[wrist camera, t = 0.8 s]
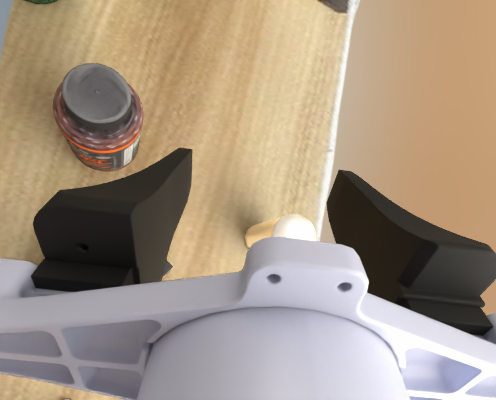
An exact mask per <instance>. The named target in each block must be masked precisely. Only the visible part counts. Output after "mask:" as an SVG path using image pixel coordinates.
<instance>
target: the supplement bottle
mask: <svg viewBox="0 0 496 400" xmlns="http://www.w3.org/2000/svg"><path fill="white" fill-rule="evenodd" d="M53 111H54V116H55V119H56V122H57V124H58V126H59V128H60V130H61V132H62V133H63V135H64V137H65V138H66V140H67V142H68V144H69V145H70V147H71V149H72V151H73V152H74V154H75V155H76V157H77V158H78V159H79V160H80V161H81V162H82V163H84V164H85V165H87V166H88V167H90V168H92V169H95V170H99V171H116V170H119V169H121V168H123V167H125V166H126V165H128V164H129V163H130V162H131V161H132V160H133V159H134V157H135V155H136V153H137V150H138V146H139V140H140V135H141V129H142V124H143V108H142V103H141V101H140V99H139V96H138V95H137V93H136V92H135V91H134V89H133V88H132V87H131V86H130V85H129V84H128V83H127V82H126V81H125V79H124V78H123V77H122V76H121V75H120V74H119V73H118V72H116V71H115V70H114V69H112V68H110V67H107V66H105V65H102V64H94V63H90V64H83V65H79V66H77V67H75V68H73V69H72V70H71V71H70V72H68V74H67V75H66V76H65V78H64V80H63V82H62V83H61V85H60V86H59V87H58V89H57V91H56V93H55V96H54V101H53Z"/></svg>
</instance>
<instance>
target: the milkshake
mask: <svg viewBox="0 0 496 400" xmlns="http://www.w3.org/2000/svg"><path fill="white" fill-rule="evenodd" d="M268 237H286V238H294V239H302V240H310V241H316V236H315V230H314V227H313V225H312V223H311V222H310V221H309V220H308V219H306V218H305V217H303V216H301V215H299V214H288V215H285V216H282V217H279V218H276V219H273V220H269V221H266V222H262V223H258V224H255V225H254V226H252V227H250V228H248V231H247V233H246V235H245V240H246V245H247V246H248V248H249V249H250V247H251V245H252V244H253V243H255V242H257V241H259V240H261V239H263V238H268Z"/></svg>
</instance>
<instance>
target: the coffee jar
mask: <svg viewBox="0 0 496 400" xmlns="http://www.w3.org/2000/svg"><path fill="white" fill-rule="evenodd" d="M27 1H29V2H32V3H36V4H47V3H52V2H55V1H57V0H27Z"/></svg>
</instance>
